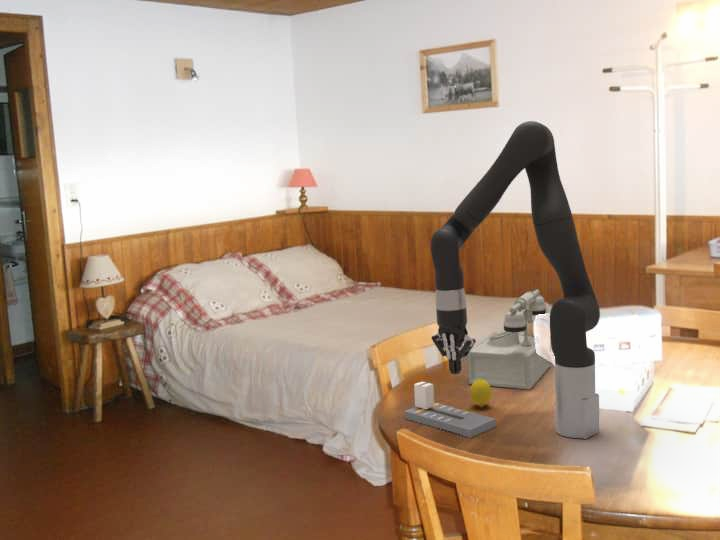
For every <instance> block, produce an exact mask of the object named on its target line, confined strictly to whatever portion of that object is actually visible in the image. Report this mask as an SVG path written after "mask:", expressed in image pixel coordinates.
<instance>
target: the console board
mask: <svg viewBox="0 0 720 540" xmlns="http://www.w3.org/2000/svg"><path fill="white" fill-rule="evenodd" d="M404 419H405V420H408V421H411V420H412V421H413V422H415V423H418V424H421V423H422V425H425V424H426V425H425V426H428V425H430V426H429V427H432V426H433V427H432V428H435V427H436V429H438V428H440V429H439V430H442V429H444V430H443V431H445V430H447V431H446V432H448V431H452V432H454V433H453V434H455V433H457V434H456V435H458V434H460V435H459V436H462V435H463V436H462V437H465V436H466V438H468V437H469V439H471V438H473V436H474V437H475V436H478V435H480V434H483V433H485V432H487V431H490V430H492V429H493V428H496V427H497V419H496V418H494V417H491V416H486V415H483V414H478V413H475V412H471V411H468V410H465V409H460V408H457V407H453V406H450V405H446V404H442V403H439V402H435V401H434V407H431V408H429V409H423V408H420V407H416V406H414V407H412V408H409V409H406V410H404ZM412 421H411V422H412ZM452 432H451V433H452ZM482 432H483V433H482Z"/></svg>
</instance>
